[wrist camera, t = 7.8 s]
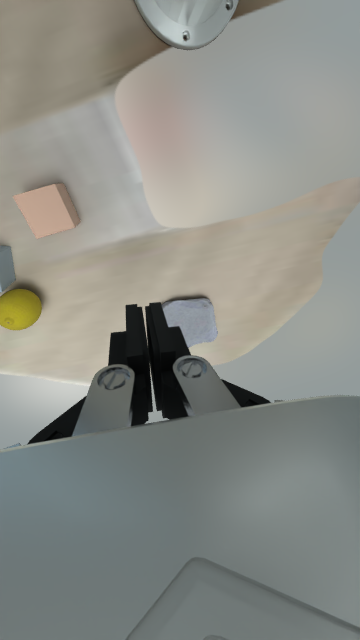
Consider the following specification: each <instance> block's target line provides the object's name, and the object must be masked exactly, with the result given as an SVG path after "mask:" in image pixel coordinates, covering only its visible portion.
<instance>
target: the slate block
mask: <svg viewBox="0 0 360 640" xmlns="http://www.w3.org/2000/svg"><path fill="white" fill-rule="evenodd" d="M15 280H16V279H15V272H14V265H13V259H12V252H11V247H9V246H0V292H3V291H4V290H5V289H6V288H7V287H8V286H9V285H10V284H11V283H13V282H14V281H15Z"/></svg>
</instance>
